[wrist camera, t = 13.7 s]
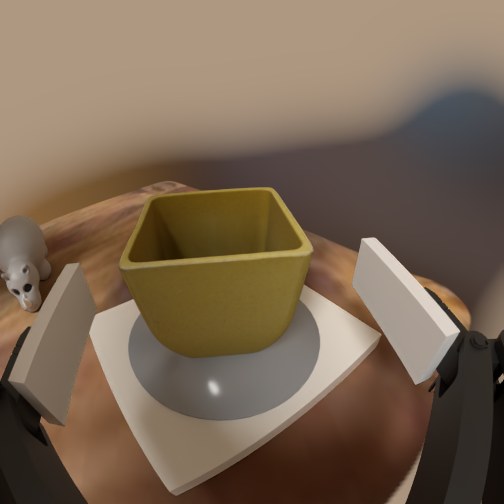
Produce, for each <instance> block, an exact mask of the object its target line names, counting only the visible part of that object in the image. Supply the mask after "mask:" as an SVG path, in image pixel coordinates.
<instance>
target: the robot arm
mask: <svg viewBox="0 0 504 504" xmlns="http://www.w3.org/2000/svg"><path fill="white" fill-rule="evenodd" d="M352 286H353V288H354V289H355V290H356V292H357V293H358V295H359V296H360V298H361V299H362V301H363V302H364V304H365V305H366V307H367V308H368V310H369V311H370V313H371V314H372V316H373V317H374V319H375V320H376V322H377V323H378V325H379V326H380V328H381V329H382V331H383V333H384V334H385V336H386V337H387V339H388V340H389V342H390V344H391V345H392V347H393V348H394V350H395V352H396V353H397V355H398V356H399V358H400V360H401V361H402V363H403V365H404V366H405V368H406V370H407V371H408V373H409V375H410V376H411V378H412V380H413V381H414V383H415V385H416V384H418V383H421V382H423V381H425V380H428V379H430V377H431V376H432V374H433V373H434V371H435V370H437V372H438V373H439V375H438V377H437V378H436V380H435V381H434V382H433V384H432V385H431V386H430V388H429V390H428V392H431V390H432V389H433V388H434V387H435V391H434V392H433V393H434V398H433V404H432V410H431V415H430V420H429V425H428V430H427V434H426V439H425V443H424V447H423V451H422V454H421V458H420V462H419V465H418V468H417V472H416V475H415V478H414V481H413V484H412V487H411V490H410V493H409V495H408V498H407V501H406V503H405V504H481V500H482V504H504V380H503V381H502V383H499V380H498V378H499V377H500V376H501V375H502V374H504V330H503V331H502V332H501V333H500V335H499V336H498V338H497V339H487V338H486V337H485V336H484V335H483V334H482V333H479V332H477V331H469V332H468V331H467V330H466V328H465V327H464V326H463V325H462V324H461V322H460V321H459V320H458V319H457V318H456V316H455V315H454V314H453V313H452V312H451V311H450V309H448V307H447V306H446V305H445V304H444V303H442V300H441V299H440V298H439V297H438V296H437V295H436V294H435V293H434V292H432V291H431V290H429V289H428V288H426V287H425V288H423V287H422V286H421V285H420V284H419V283H418V281H417V280H416V279H415V278H414V277H413V276H412V275H411V274H410V273H409V272H408V271H407V270H406V269H405V268H404V267H403V266H402V264H401V263H400V262H399V261H398V260H397V259H396V258H395V257H394V256H393V255H392V254H391V253H390V252H389V251H388V250H387V249H386V248H385V247H384V246H383V245H382V244H381V243H380V242H379V241H378V240H377V239H376V238H365V239H364V238H363V239H362V240H361V245H360V250H359V255H358V260H357V264H356V269H355V273H354V277H353V282H352ZM96 311H97V307H96V304H95V302H94V299H93V297H92V294H91V292H90V289H89V287H88V284H87V281H86V279H85V276H84V273H83V270H82V267H81V264H80V263H72V264H66V266H65V267H64V269H63V271H62V272H61V274H60V276H59V277H58V279H57V281H56V282H55V284H54V286H53V287H52V289H51V291H50V293H49V294H48V296H47V298H46V300H45V302H44V303H43V305H42V307H41V309H40V311H39V313H38V315H37V317H36V319H35V321H34V323H33V325H32V327H27V328H26V330H25V331H24V332H23V333H22V334H21V335H20V337H19V339H18V341H17V343H16V347H15V348H14V350H13V352H12V355H11V357H10V359H9V361H8V364H7V366H6V368H5V371H4V373H3V376H2V378H1V381H0V504H88V503H87V501H86V500H85V498H84V497H83V495H82V494H81V493H80V491H79V490H78V488H77V486H76V485H75V483H74V482H73V480H72V479H71V477H70V475H69V474H68V472H67V470H66V469H65V467H64V465H63V464H62V462H61V460H60V458H59V456H58V455H57V453H56V451H55V449H54V447H53V445H52V443H51V441H50V439H49V437H48V435H47V433H46V431H45V429H44V427H43V425H42V424H41V423H40V419H41V416H42V417H43V418H44V419H45V420H46V421H47V422H48V423H50V424H55V425H60V426H65V423H66V418H67V413H68V409H69V404H70V400H71V395H72V391H73V387H74V383H75V379H76V375H77V372H78V368H79V365H80V361H81V358H82V354H83V351H84V348H85V344H86V341H87V338H88V335H89V332H90V329H91V326H92V323H93V320H94V317H95V314H96Z"/></svg>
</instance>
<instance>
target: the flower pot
mask: <svg viewBox="0 0 504 504" xmlns="http://www.w3.org/2000/svg"><path fill="white" fill-rule="evenodd" d="M312 254H313V247H312V245H311V243H310V241H309V240H308V238H307V236H306V235H305V233H304V232H303V230H302V228H301V227H300V226H299V224H298V223H297V221H296V220H295V218H294V217H293V215H292V213H291V212H290V211H289V210H288V208H287V207H286V205H285V204H284V202H283V201H282V199H281V198H280V196H279V194H278V193H277V192H276V191H275V190H274V189H273V188H267V187H263V188H239V189H223V190H209V191H196V192H183V193H173V194H163V195H157V196H152V197H149V198H148V199H147V201H146V203H145V205H144V207H143V210H142V212H141V215H140V217H139V220H138V222H137V225H136V227H135V229H134V231H133V233H132V235H131V236H130V238H129V241H128V243H127V245H126V247H125V249H124V251H123V253H122V256H121V259H120V262H119V269H120V272H121V274H122V276H123V278H124V280H125V282H126V285H127V287H128V289H129V291H130V293H131V295H132V297H133V299H134V301H135V303H136V305H137V307H138V309H139V311H140V313H141V315H142V317H143V319H144V321H145V322H146V324H147V326H148V328H149V330H150V331H151V332H152V334H153V335H154V336H155V338H156V339H157V340H158V341H159V342H160V343H161V344H163V345H164V346H165V347H166V348H168V349H169V350H171V351H173V352H175V353H177V354H179V355H182V356H185V357H189V358H204V357H217V356H227V355H238V354H248V353H256V352H259V351H261V350H263V349H265V348H267V347H269V346H271V345H272V344H273V343H275V342H276V341H277V340H278V339H279V338H280V337H281V336H282V335H283V334H284V332H285V331H286V329H287V328H288V327H289V325H290V323H291V321H292V319H293V316H294V314H295V311H296V308H297V305H298V302H299V299H300V295H301V292H302V289H303V286H304V282H305V279H306V275H307V272H308V268H309V265H310V261H311V257H312Z"/></svg>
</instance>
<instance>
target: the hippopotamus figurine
mask: <svg viewBox="0 0 504 504" xmlns="http://www.w3.org/2000/svg"><path fill="white" fill-rule="evenodd" d="M47 254H48V248H47V246H46V245H45V239H44V235H43V233H42V230H41V229H40V227H39V226H38V225H37V223H36V222H35V221H33V220H32V219H30V218H28V217H26V216H13V217H10V218H8V219H7V220H5V221H4V222H3V223H2V224H1V225H0V269H1V271H2V272H4V273H3V274H1V277H2V278H3V279H4V280H5V281H6V284H7V287H8V290H9V291H10V292H11V293H12V294H13V295H14V296H16V297H17V298H18V300H19V302H20V304H21V306H22V308H23V309H24V310H25V311H28V312H34V311H36V310H37V309H38V308H39V307H40V305H41V301H42V300H41V295H40V292H39V280H45V279H47V278H48V277H49V275H50V273H51V266H50V264H49V262H48V261H47V260H46V259H45V258H46V257H47Z"/></svg>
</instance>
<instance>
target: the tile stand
mask: <svg viewBox="0 0 504 504" xmlns="http://www.w3.org/2000/svg"><path fill="white" fill-rule="evenodd" d="M89 334H90V337H91V340H92V342H93V345H94V348H95V351H96V353H97V356H98V359H99V361H100V364H101V366H102V369H103V371H104V374H105V376H106V378H107V381H108V383H109V385H110V388H111V390H112V392H113V394H114V397H115V399H116V401H117V403H118V405H119V407H120V409H121V411H122V413H123V415H124V417H125V419H126V421H127V423H128V425H129V427H130V429H131V431H132V433H133V434H134V436H135V438H136V440H137V442H138V443H139V445H140V447H141V449H142V450H143V452H144V454H145V455H146V457H147V459H148V460H149V462H150V463H151V465H152V467H153V468H154V470H155V471H156V473H157V474H158V476H159V477H160V479H161V480H162V482H163V483H164V485H165V486H166V488H167V489H168V490H169V492H171V493H172V494H174V495H175V496H177V495H179V494H181V493H183V492H185V491H187V490H189V489H191V488H193V487H195V486H197V485H199V484H201V483H202V482H204V481H206V480H208V479H210V478H211V477H213V476H215V475H217V474H218V473H220V472H222V471H223V470H225V469H227V468H228V467H230V466H232V465H233V464H235V463H237V462H238V461H240V460H241V459H243V458H244V457H246V456H247V455H249V454H250V453H252V452H253V451H255V450H256V449H258V448H259V447H261V446H262V445H264V444H265V443H266V442H268V441H269V440H271V439H272V438H273V437H275V436H276V435H278V434H279V433H280V432H282V431H283V430H284V429H286V428H287V427H288V426H290V425H291V424H292V423H293V422H295V421H296V420H297V419H298V418H300V417H301V416H302V415H303V414H305V413H306V412H307V411H308V410H310V409H311V408H312V407H313V406H314V405H316V404H317V403H318V402H319V401H320V400H321V399H323V398H324V397H325V396H326V395H327V394H328V393H329V392H330V391H332V390H333V389H334V388H335V387H336V386H337V385H338V384H339V383H340V382H341V381H343V380H344V379H345V378H346V377H347V376H348V375H349V374H350V373H351V372H352V371H353V370H354V369H355V368H356V367H357V366H358V365H359V364H360V363H361V362H362V361H363V360H364V359H365V358H366V357H367V356H368V355H369V354H370V353H371V352H372V351H373V350H374V349H375V348H376V346H377V344H378V342H379V339H380V337H381V335H382V334H381V333H379V332H377V331H376V330H374V329H373V328H371V327H370V326H368V325H367V324H365V323H363V322H362V321H360V320H359V319H357V318H356V317H354V316H352V315H351V314H349V313H348V312H346V311H345V310H343V309H342V308H340V307H338V306H337V305H335V304H334V303H332V302H331V301H329V300H327V299H326V298H324V297H323V296H321V295H320V294H318V293H316V292H315V291H313V290H312V289H310V288H309V287H307V286H306V285H304V286H303V289H302V292H301V295H300V299H299V302H298V305H297V308H296V311H295V314H294V316H293V319H292V321H291V323H290V325H289V327H288V328H287V329H286V331H285V332H284V334H283V335H282V336H281V337H280V338H279V339H278V340H277V341H276V342H275V343H273V344H272V345H271V346H269V347H267V348H265V349H263V350H261V351H259V352H256V353H248V354H238V355H227V356H217V357H204V358H189V357H185V356H182V355H179V354H177V353H175V352H173V351H171V350H169V349H168V348H166V347H165V346H164V345H163V344H161V343H160V342H159V341H158V340H157V339H156V338H155V336H154V335H153V334H152V332H151V331H150V330H149V328H148V326H147V324H146V322H145V321H144V319H143V317H142V315H141V313H140V311H139V309H138V307H137V305H136V303H135V301H134V299H132V300H130V301H128V302H125V303H123V304H120V305H118V306H116V307H113V308H111V309H108V310H106V311H103V312H101V313H99V314H96V315H95V317H94V320H93V323H92V326H91V329H90V332H89Z"/></svg>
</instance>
